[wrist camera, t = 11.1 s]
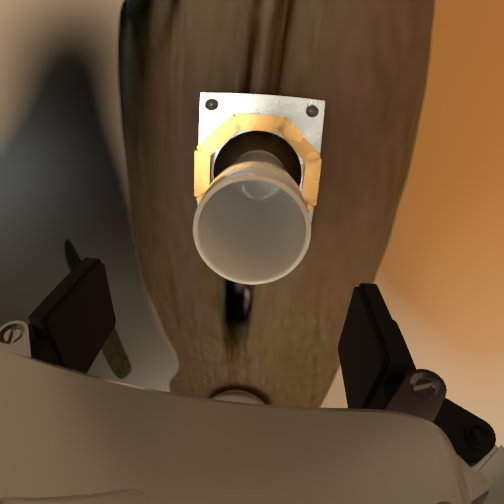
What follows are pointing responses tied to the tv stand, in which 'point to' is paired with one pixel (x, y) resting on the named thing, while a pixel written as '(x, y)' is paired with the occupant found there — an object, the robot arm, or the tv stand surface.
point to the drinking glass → (252, 221)
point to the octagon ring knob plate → (260, 137)
